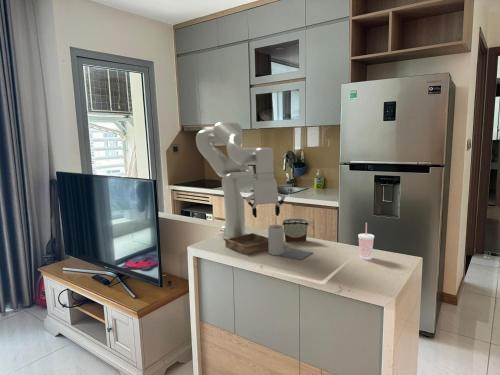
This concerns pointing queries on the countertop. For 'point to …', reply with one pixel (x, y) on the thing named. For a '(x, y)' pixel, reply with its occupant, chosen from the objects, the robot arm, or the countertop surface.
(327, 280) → the countertop surface
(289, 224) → the food container
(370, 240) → the beverage cup
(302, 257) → the charcoal mat
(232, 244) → the walnut box
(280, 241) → the beverage can
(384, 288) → the countertop surface
